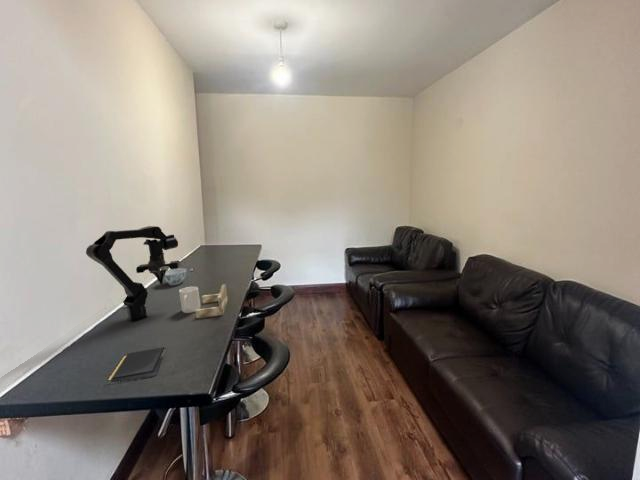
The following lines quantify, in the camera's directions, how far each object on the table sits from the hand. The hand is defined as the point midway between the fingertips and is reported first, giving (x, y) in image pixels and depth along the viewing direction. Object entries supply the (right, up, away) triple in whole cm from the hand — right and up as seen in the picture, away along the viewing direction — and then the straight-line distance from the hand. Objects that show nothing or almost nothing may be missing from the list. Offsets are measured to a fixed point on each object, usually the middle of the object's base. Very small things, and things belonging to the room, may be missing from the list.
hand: (161, 283), depth 163 cm
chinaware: (-12, -6, +44) cm, 46 cm away
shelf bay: (+25, -11, -4) cm, 28 cm away
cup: (+16, -12, -6) cm, 21 cm away
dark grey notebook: (+17, -21, -52) cm, 58 cm away
